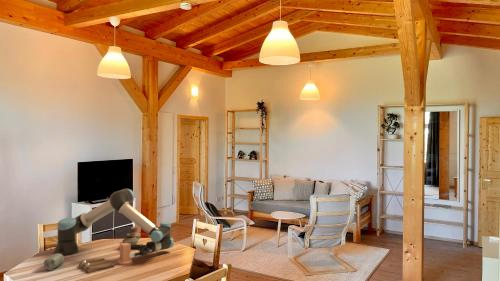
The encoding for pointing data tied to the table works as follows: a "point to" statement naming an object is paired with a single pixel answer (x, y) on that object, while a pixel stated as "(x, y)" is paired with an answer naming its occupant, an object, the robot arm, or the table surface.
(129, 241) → the pottery
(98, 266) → the plate
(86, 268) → the dowels
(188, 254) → the table surface
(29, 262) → the table surface
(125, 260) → the tall pillar on disc
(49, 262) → the spool
